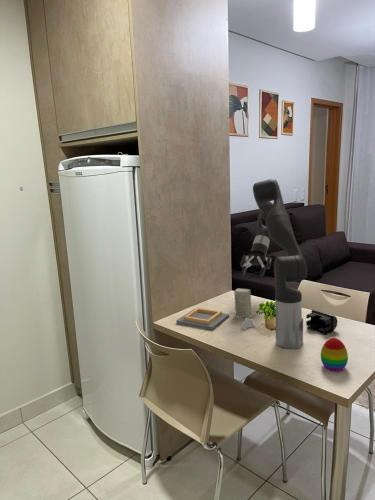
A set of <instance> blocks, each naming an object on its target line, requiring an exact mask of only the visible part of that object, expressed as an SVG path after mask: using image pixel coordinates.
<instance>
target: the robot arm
mask: <svg viewBox="0 0 375 500" xmlns="http://www.w3.org/2000/svg"><path fill="white" fill-rule="evenodd" d="M252 193H253V197H254V200H255V202H256V205H257V207H258V211H259V214H258V215H257V231H256V234H255V238H254V239H253V243H252V247H251V249H250V253H249V255H246V254H243V255H242V256H241V260H240V262H239V265H240V267H241V268H242V269H241V274H242V275H243V276H246V273H247V270H248V268H249V267H251V266H261V268H260V271H259V277H260V278H263V277H264V275H265V273H266V271H268V270H270V269H271V264H272V257H271V256H269V255H268V256H267V253H268V250H269V246H270V241H271V240H272V241H273V242H274V243H276V244H277V246H279V247H280V248H281V249H283V250H284V251H285V252H286V253H287V255H285V256H284V255H283V256H282V255H281V256H276V258H274V263H273V274H274V291H275V292H274V293H275V344H276V345H277V346H278V347H280V348H283V349H300V347H301V346H302V344H303V343H304V318H303V317H302V314H303V313H302V307H303V306H302V305H303V304H302V303H303V301H302V300H303V298H302V292H301V290H298V289H297V288H293V287H289V286H288V285H287V284H286V283H288V282H289V283H290V282H291V283H292V282H301V281H304V280H306V278H307V277H308V276H307V275H308V266H307V263H306V260H305V257H304V255H303V252H302V251H301V248H300V247H299V244H298V242H297V239H296V236H295V233H294V229H293V226H292V222H291V220H290V217H289V215H288V212H287V210H286V208H285V204H284V200H283V197H282V196H283V195H282V191H281V188H280V185H279V182H278V181H277V180H276V179H275V178H269V179H265V180H262V181H258V182H255V183H254V184H253V186H252ZM271 201H273V202H271ZM266 256H267V257H266ZM264 262H266V265H265V264H264Z"/></svg>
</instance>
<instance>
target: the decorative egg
mask: <svg viewBox="0 0 375 500" xmlns="http://www.w3.org/2000/svg"><path fill="white" fill-rule="evenodd" d="M320 360H321V363H322V365H323V366H324V368H325V369H326V370H328V371H331V372H341V371H343V370H344V369H345V368H346V366H347V364H348V361H349V354H348V349H347V347H346V345H345V343H344V342H343V341H341V340H340V339H339V338H336V337H331V338H329V339H327V340H326V341H325V342H324V344H323V345H322V347H321V351H320Z"/></svg>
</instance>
